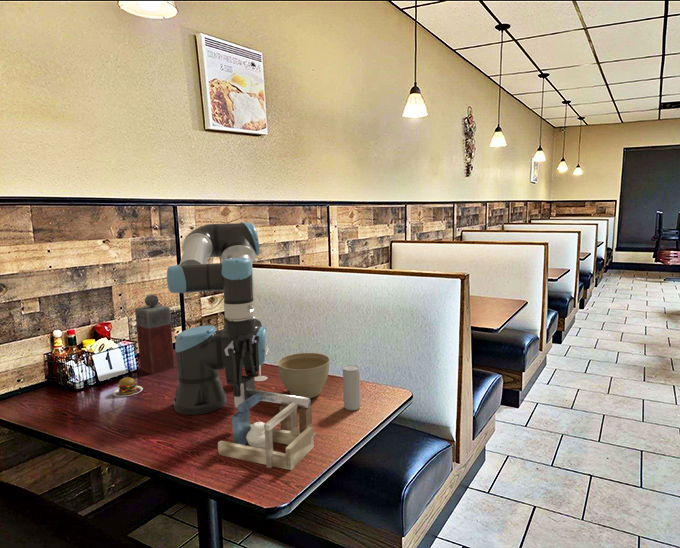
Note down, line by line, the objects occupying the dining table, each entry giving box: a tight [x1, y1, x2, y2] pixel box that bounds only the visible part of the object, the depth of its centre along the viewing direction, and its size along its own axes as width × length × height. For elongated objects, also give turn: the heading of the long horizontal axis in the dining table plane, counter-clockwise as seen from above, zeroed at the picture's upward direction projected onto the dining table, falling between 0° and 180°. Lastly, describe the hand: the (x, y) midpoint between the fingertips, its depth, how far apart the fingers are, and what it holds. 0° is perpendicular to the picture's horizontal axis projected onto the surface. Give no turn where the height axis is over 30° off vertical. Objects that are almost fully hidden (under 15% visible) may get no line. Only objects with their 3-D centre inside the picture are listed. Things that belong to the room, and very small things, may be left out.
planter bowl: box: [277, 352, 331, 399], centre depth 151 cm, size 16×16×11 cm
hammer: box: [231, 375, 312, 445], centre depth 121 cm, size 21×14×13 cm, turn 66°
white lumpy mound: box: [246, 421, 266, 449], centre depth 117 cm, size 6×6×7 cm
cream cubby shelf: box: [279, 404, 317, 438], centre depth 123 cm, size 9×4×8 cm, turn 66°
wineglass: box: [254, 342, 270, 382], centre depth 165 cm, size 7×7×12 cm
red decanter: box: [134, 294, 175, 375], centre depth 179 cm, size 9×11×28 cm
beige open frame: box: [217, 403, 315, 471], centre depth 116 cm, size 20×13×10 cm, turn 66°
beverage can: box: [342, 364, 362, 412], centre depth 139 cm, size 5×5×12 cm
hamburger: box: [112, 376, 144, 398], centre depth 157 cm, size 12×12×6 cm
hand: (245, 403), depth 128 cm, fingers closed on hammer, 4 cm apart
